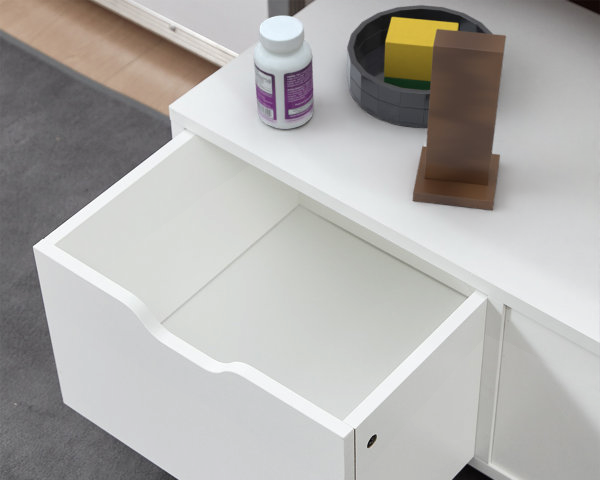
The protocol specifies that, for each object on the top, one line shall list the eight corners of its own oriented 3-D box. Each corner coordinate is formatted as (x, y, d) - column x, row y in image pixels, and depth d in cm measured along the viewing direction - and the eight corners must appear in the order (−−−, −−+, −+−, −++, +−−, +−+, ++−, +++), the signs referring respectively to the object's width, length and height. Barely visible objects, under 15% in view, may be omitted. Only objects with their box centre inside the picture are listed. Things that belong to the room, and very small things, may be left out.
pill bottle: (314, 95, 118) (312, 10, 111) (313, 130, 114) (311, 44, 107) (258, 96, 118) (253, 10, 111) (255, 131, 114) (250, 44, 107)
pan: (500, 46, 123) (504, 12, 120) (487, 135, 113) (491, 100, 110) (360, 33, 125) (360, -1, 122) (336, 119, 115) (336, 84, 112)
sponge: (454, 67, 120) (458, 22, 116) (450, 93, 117) (453, 48, 113) (390, 61, 121) (391, 16, 117) (383, 87, 118) (385, 41, 114)
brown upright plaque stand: (499, 162, 111) (516, 21, 100) (492, 210, 106) (510, 68, 95) (421, 154, 112) (431, 13, 101) (412, 201, 107) (421, 59, 96)
